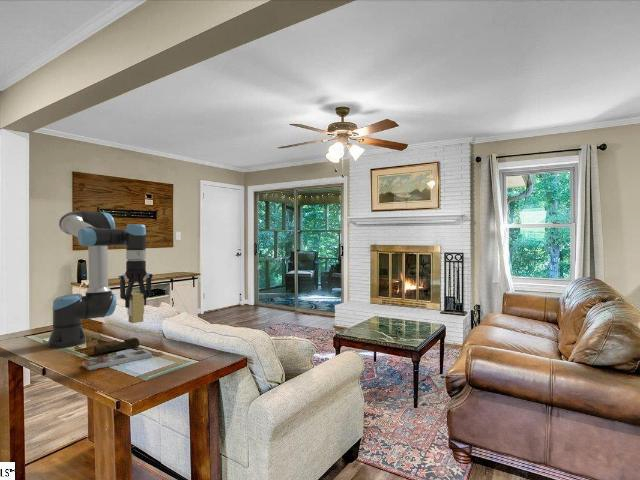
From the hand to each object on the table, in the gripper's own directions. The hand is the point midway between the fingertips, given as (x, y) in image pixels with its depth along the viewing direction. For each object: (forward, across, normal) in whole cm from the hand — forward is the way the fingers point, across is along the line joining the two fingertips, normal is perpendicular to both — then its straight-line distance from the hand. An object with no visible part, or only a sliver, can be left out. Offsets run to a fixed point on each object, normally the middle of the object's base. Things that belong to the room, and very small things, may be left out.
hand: (135, 314), depth 160 cm
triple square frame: (+18, -7, 0) cm, 20 cm away
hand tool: (+19, -2, +17) cm, 25 cm away
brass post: (+3, 0, 0) cm, 3 cm away
